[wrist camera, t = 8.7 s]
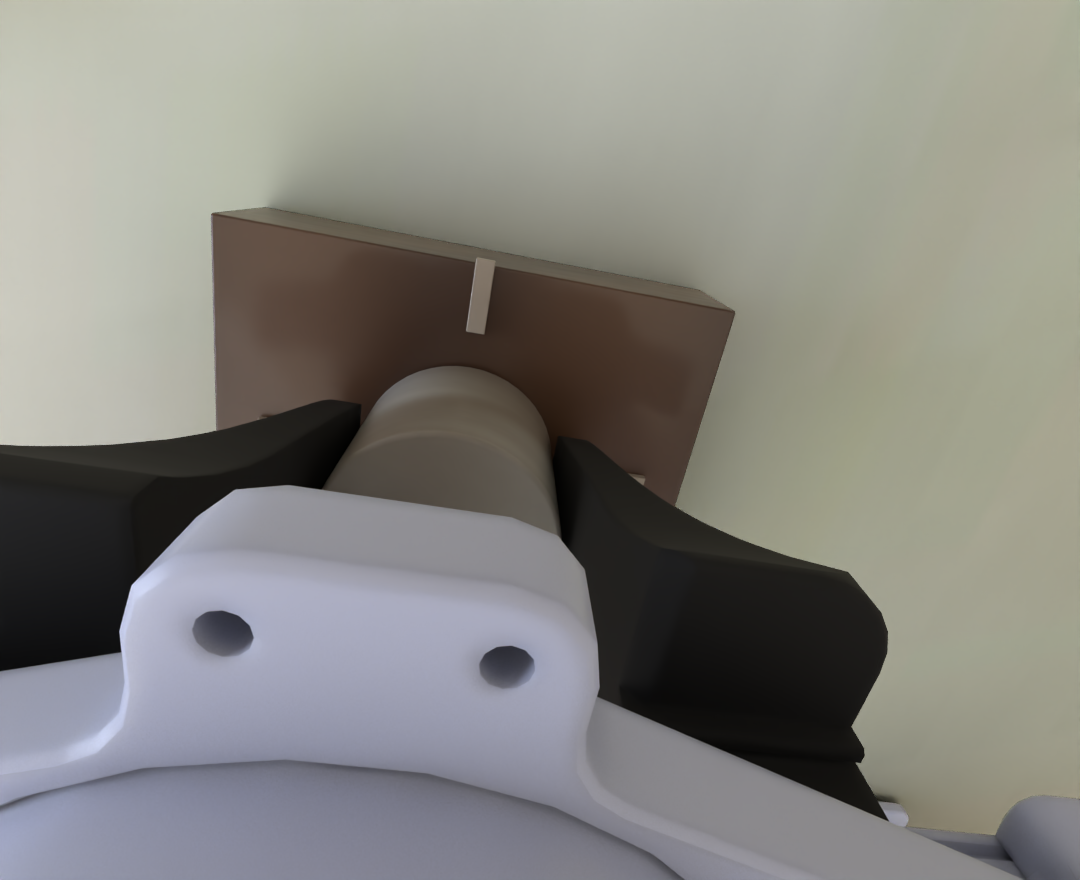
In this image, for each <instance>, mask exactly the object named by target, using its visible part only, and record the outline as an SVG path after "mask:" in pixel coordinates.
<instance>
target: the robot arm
mask: <svg viewBox="0 0 1080 880" xmlns="http://www.w3.org/2000/svg"><path fill="white" fill-rule="evenodd" d="M361 408H362V404H358V403H351V402H345V401H339V400H333V399H329V400H322V401H318V402H314V403H311V404H308V405H304V406H301V407H298V408H295V409H292V410H289V411H286V412H283V413H280V414H276V415H273V416H270V417H267V418H263V419H260V420H256V421H253V422H249V423H245V424H242V425H238V426H234V427H231V428H227V429H223V430H218V431H214V432H209V433H204V434H198V435H192V436H186V437H181V438H174V439H167V440H157V441H146V442H136V443H125V444H115V445H93V446H13V445H0V880H1080V799H1076V798H1067V797H1057V796H1048V795H1040V796H1031V797H1028V798H1026V799H1023V800H1021V801H1019V802H1017V803H1016V804H1015V805H1014V806H1013V807H1012V808H1011V809H1010V810H1009V811H1008V812H1007V814H1006V815H1005V816H1004V818H1003V820H1002V822H1001V824H1000V825H999V827H998V830H997V833H996V835H986V834H975V833H965V832H955V831H944V830H934V829H924V828H913V827H905V826H906V825H907V823H908V820H909V817H908V814H907V813H906V811H905V809H904V808H903V807H902V806H901V805H900V804H896V803H890V802H880V801H877V799H876V797H875V796H874V794H873V792H872V790H871V789H870V787H869V785H868V784H867V782H866V780H865V778H864V777H863V775H862V773H861V772H860V770H859V768H858V766H857V765H856V763H855V762H857V763H861V761H862V760H863V758H864V756H865V755H864V747H863V746H862V744H861V742H860V741H859V739H858V737H857V736H856V734H855V733H854V731H853V729H852V728H851V726H852V724H853V722H854V721H855V719H856V717H857V715H858V713H859V711H860V709H861V707H862V706H863V704H864V702H865V700H866V698H867V696H868V694H869V692H870V691H871V689H872V687H873V685H874V683H875V681H876V679H877V677H878V676H879V674H880V671H881V668H882V666H883V663H884V660H885V657H886V655H887V644H888V631H887V628H886V625H885V622H884V619H883V616H882V613H881V612H880V611H879V609H878V608H877V607H876V606H875V604H874V603H873V602H872V601H871V599H870V598H869V597H868V596H867V595H866V593H865V592H864V591H863V590H862V588H861V587H860V586H859V585H858V583H857V582H856V581H855V580H854V578H853V577H852V576H851V575H850V574H849V573H848V572H846V571H842V570H838V569H834V568H831V567H827V566H823V565H819V564H815V563H812V562H808V561H804V560H800V559H796V558H792V557H789V556H786V555H783V554H780V553H777V552H774V551H771V550H768V549H765V548H762V547H759V546H756V545H754V544H751V543H749V542H746V541H743V540H741V539H738V538H736V537H733V536H731V535H729V534H727V533H725V532H722V531H720V530H718V529H716V528H714V527H711V526H709V525H707V524H705V523H703V522H701V521H699V520H697V519H695V518H693V517H691V516H690V515H688V514H686V513H685V512H683V511H681V510H679V509H678V508H676V507H674V506H673V505H671V504H669V503H668V502H666V501H665V500H663V499H662V498H660V497H659V496H657V495H656V494H654V493H653V492H652V491H650V490H649V489H647V488H646V487H645V486H643V485H642V484H641V483H639V482H638V481H637V480H636V479H634V478H633V477H632V476H630V475H629V474H628V473H627V472H626V471H624V470H623V469H622V468H621V467H620V466H618V465H617V464H616V463H615V462H614V461H613V460H611V459H610V458H609V457H608V456H607V455H606V454H605V453H603V452H602V451H601V450H600V449H599V448H597V447H596V446H595V445H594V444H592V443H591V442H589V441H587V440H582V439H576V438H570V437H563V436H558V438H557V443H556V447H555V452H554V457H553V469H554V477H555V485H556V493H557V501H558V509H559V517H560V524H561V532H562V540H561V539H560V538H559V537H558V535H555V534H553V533H550V532H547V531H545V530H542V529H540V528H537V527H535V526H532V525H530V524H527V523H525V522H522V521H520V520H517V519H515V518H512V517H506V516H499V515H492V514H485V513H478V512H471V511H464V510H457V509H451V508H444V507H437V506H430V505H423V504H416V503H409V502H402V501H395V500H388V499H381V498H375V497H368V496H361V495H354V494H347V493H340V492H333V491H326V490H322V488H323V486H324V484H325V482H326V481H327V479H328V478H329V476H330V474H331V473H332V471H333V470H334V468H335V467H336V465H337V463H338V462H339V460H340V459H341V457H342V455H343V454H344V452H345V451H346V449H347V448H348V446H349V444H350V443H351V441H352V440H353V438H354V437H355V435H356V433H357V432H358V430H359V429H360V421H361Z"/></svg>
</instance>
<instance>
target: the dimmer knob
mask: <svg viewBox="0 0 1080 880" xmlns="http://www.w3.org/2000/svg"><path fill="white" fill-rule="evenodd" d="M322 490H326V491H333V492H340V493H347V494H354V495H361V496H368V497H375V498H381V499H388V500H395V501H402V502H409V503H416V504H423V505H430V506H437V507H444V508H451V509H457V510H464V511H471V512H478V513H485V514H492V515H499V516H506V517H512V518H515V519H517V520H520V521H522V522H525V523H527V524H530V525H532V526H535V527H537V528H540V529H542V530H545V531H547V532H550V533H553V534H555V535H558V537H559V538H560V539H561V540H562V532H561V524H560V517H559V509H558V501H557V493H556V485H555V477H554V469H553V461H552V453H551V446H550V439H549V435H548V432H547V428H546V426H545V424H544V421H543V419H542V417H541V415H540V414H539V412H538V411H537V409H536V407H535V406H534V405H533V404H532V402H531V401H530V400H529V399H528V398H527V397H526V396H525V395H524V394H523V393H522V392H521V391H520V390H519V389H518V388H516V387H515V386H513V385H512V384H511V383H509V382H508V381H506V380H504V379H502V378H500V377H498V376H497V375H494V374H492V373H489V372H486V371H484V370H479V369H475V368H471V367H462V366H442V367H435V368H430V369H426V370H422V371H419V372H416V373H414V374H412V375H409V376H407V377H405V378H404V379H402V380H400V381H399V382H397V383H396V384H394V385H393V386H392V387H391V388H389V389H388V390H387V391H386V392H385V393H384V394H383V395H382V396H381V397H380V398H379V400H378V401H377V402H376V404H375V405H374V407H373V408H372V410H371V411H370V413H369V414H368V416H367V418H366V419H365V421H364V422H363V424H362V425H361V427H360V429H359V430H358V432H357V433H356V435H355V437H354V438H353V440H352V441H351V443H350V444H349V446H348V448H347V449H346V451H345V452H344V454H343V455H342V457H341V459H340V460H339V462H338V463H337V465H336V467H335V468H334V470H333V471H332V473H331V474H330V476H329V478H328V479H327V481H326V482H325V484H324V486H323V488H322Z"/></svg>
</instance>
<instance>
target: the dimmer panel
mask: <svg viewBox="0 0 1080 880" xmlns="http://www.w3.org/2000/svg"><path fill="white" fill-rule="evenodd" d="M211 233H212V273H213V313H214V353H215V393H216V431H218V430H223V429H227V428H231V427H234V426H238V425H242V424H245V423H249V422H253V421H256V420H260V419H263V418H267V417H270V416H273V415H276V414H280V413H283V412H286V411H289V410H292V409H295V408H298V407H301V406H304V405H308V404H311V403H314V402H318V401H322V400H329V399H333V400H339V401H345V402H351V403H358V404H362V408H361V421H360V427H361V425H362V424H363V422H364V421H365V419H366V418H367V416H368V414H369V413H370V411H371V410H372V408H373V407H374V405H375V404H376V402H377V401H378V400H379V398H380V397H381V396H382V395H383V394H384V393H385V392H386V391H387V390H388V389H389V388H391V387H392V386H393V385H394V384H396V383H397V382H399V381H400V380H402V379H404V378H405V377H407V376H409V375H412V374H414V373H416V372H419V371H422V370H426V369H430V368H435V367H442V366H462V367H471V368H475V369H479V370H484V371H486V372H489V373H492V374H494V375H497V376H498V377H500V378H502V379H504V380H506V381H508V382H509V383H511V384H512V385H513V386H515V387H516V388H518V389H519V390H520V391H521V392H522V393H523V394H524V395H525V396H526V397H527V398H528V399H529V400H530V401H531V402H532V404H533V405H534V406H535V407H536V409H537V411H538V412H539V414H540V415H541V417H542V419H543V421H544V424H545V426H546V428H547V432H548V435H549V439H550V446H551V453H552V461H553V457H554V452H555V447H556V443H557V438H558V436H563V437H570V438H576V439H582V440H587V441H589V442H591V443H592V444H594V445H595V446H596V447H597V448H599V449H600V450H601V451H602V452H603V453H605V454H606V455H607V456H608V457H609V458H610V459H611V460H613V461H614V462H615V463H616V464H617V465H618V466H620V467H621V468H622V469H623V470H624V471H626V472H627V473H628V474H629V475H630V476H632V477H633V478H634V479H636V480H637V481H638V482H639V483H641V484H642V485H643V486H645V487H646V488H647V489H649V490H650V491H652V492H653V493H654V494H656V495H657V496H659V497H660V498H662V499H663V500H665V501H666V502H668V503H669V504H671V505H673V506H674V507H675V503H676V500H677V497H678V494H679V491H680V488H681V484H682V481H683V478H684V475H685V472H686V468H687V465H688V462H689V459H690V456H691V453H692V449H693V446H694V443H695V440H696V437H697V433H698V430H699V427H700V424H701V421H702V418H703V414H704V411H705V408H706V405H707V402H708V398H709V395H710V392H711V389H712V386H713V383H714V379H715V376H716V373H717V370H718V367H719V363H720V360H721V357H722V354H723V351H724V348H725V344H726V341H727V338H728V335H729V332H730V328H731V325H732V322H733V319H734V316H735V311H733V310H732V309H730V308H728V307H727V306H725V305H723V304H722V303H720V302H719V301H717V300H715V299H714V298H712V297H710V296H709V295H707V294H705V293H704V292H702V291H700V290H696V289H691V288H686V287H680V286H675V285H670V284H665V283H659V282H654V281H649V280H644V279H639V278H633V277H628V276H623V275H618V274H612V273H607V272H602V271H597V270H591V269H586V268H581V267H576V266H570V265H565V264H560V263H555V262H549V261H544V260H539V259H534V258H528V257H523V256H518V255H513V254H507V253H502V252H497V251H492V250H486V249H481V248H476V247H471V246H466V245H460V244H455V243H450V242H445V241H439V240H434V239H429V238H424V237H418V236H413V235H408V234H403V233H397V232H392V231H387V230H382V229H376V228H371V227H366V226H361V225H355V224H350V223H345V222H340V221H334V220H329V219H324V218H319V217H314V216H308V215H303V214H298V213H293V212H287V211H282V210H277V209H272V208H266V207H263V208H254V209H244V210H235V211H226V212H217V213H212V214H211Z"/></svg>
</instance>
